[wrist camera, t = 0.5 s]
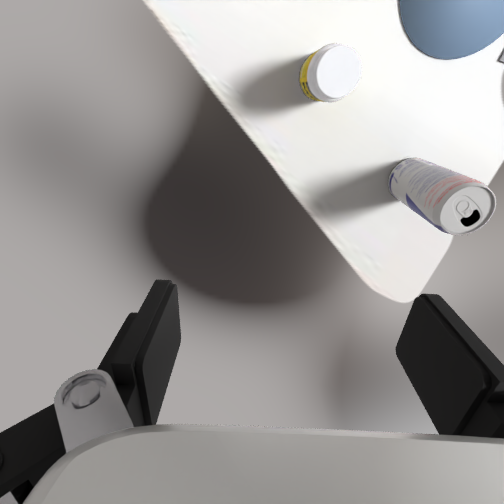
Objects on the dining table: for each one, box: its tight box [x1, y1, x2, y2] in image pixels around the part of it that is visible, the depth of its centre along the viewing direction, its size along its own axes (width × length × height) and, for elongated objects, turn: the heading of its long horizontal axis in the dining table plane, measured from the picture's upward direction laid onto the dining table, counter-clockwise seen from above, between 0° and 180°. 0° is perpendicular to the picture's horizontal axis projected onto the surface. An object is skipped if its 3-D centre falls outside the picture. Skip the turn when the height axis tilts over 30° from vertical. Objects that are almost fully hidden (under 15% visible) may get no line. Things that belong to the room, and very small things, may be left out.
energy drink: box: [388, 158, 496, 235], centre depth 33 cm, size 5×5×12 cm
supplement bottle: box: [299, 43, 362, 102], centre depth 29 cm, size 5×5×8 cm
